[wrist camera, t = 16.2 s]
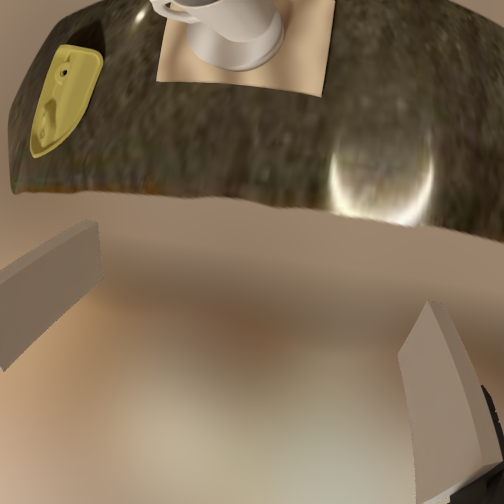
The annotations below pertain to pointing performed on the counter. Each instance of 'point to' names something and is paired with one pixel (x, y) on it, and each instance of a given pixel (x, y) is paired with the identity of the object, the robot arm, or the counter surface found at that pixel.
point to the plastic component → (64, 96)
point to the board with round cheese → (254, 50)
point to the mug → (222, 16)
